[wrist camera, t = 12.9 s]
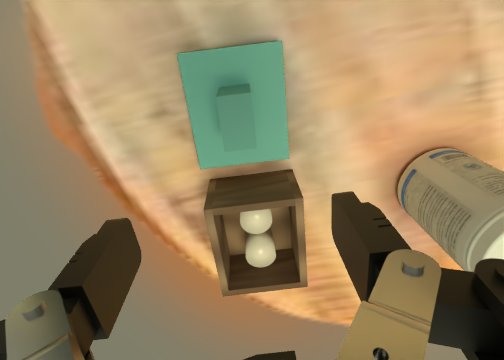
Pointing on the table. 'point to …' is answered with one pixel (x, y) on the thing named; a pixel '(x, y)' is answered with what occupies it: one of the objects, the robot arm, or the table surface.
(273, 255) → the pale sphere
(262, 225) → the cream ping pong ball
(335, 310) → the table surface
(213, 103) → the lid
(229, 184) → the crate
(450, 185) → the supplement tub
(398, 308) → the robot arm
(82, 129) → the table surface
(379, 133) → the table surface
